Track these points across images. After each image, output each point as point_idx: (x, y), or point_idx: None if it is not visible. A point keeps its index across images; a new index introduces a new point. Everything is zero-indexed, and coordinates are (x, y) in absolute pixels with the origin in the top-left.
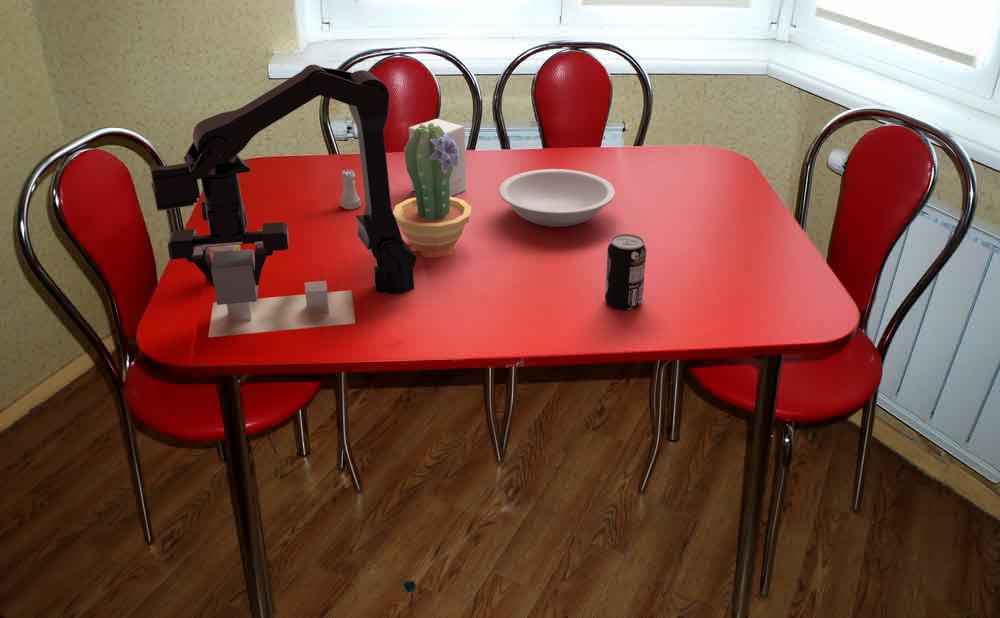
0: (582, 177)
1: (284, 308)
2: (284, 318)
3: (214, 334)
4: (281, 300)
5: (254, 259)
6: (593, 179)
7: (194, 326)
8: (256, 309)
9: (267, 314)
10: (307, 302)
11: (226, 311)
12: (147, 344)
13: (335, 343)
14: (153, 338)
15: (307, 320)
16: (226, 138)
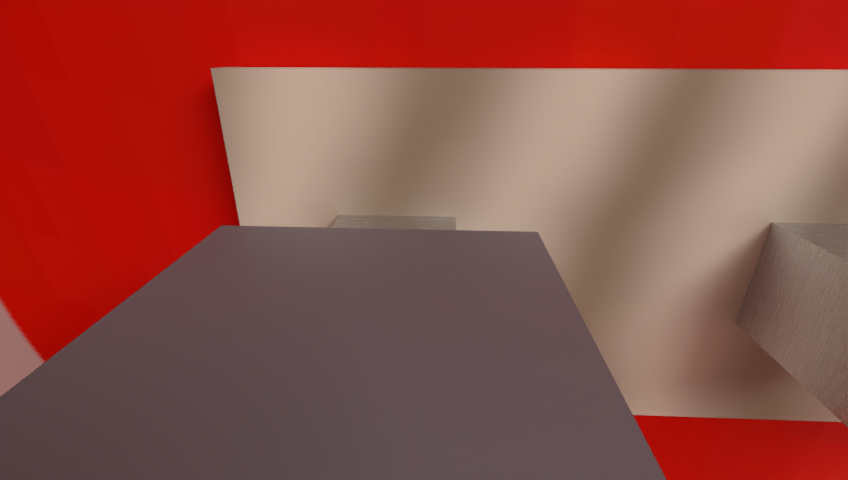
0: None
1: (634, 229)
2: (613, 328)
3: None
4: (637, 128)
5: (632, 415)
6: None
7: (181, 250)
8: (479, 210)
9: None
10: (798, 376)
11: (313, 199)
12: (36, 349)
13: (762, 475)
14: (37, 311)
15: (717, 364)
16: None
